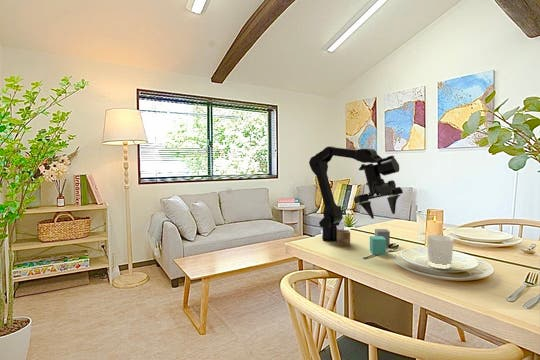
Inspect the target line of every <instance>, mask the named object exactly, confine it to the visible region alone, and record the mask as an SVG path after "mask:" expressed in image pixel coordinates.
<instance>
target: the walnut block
mask: <svg viewBox="0 0 540 360" xmlns="http://www.w3.org/2000/svg"><path fill="white" fill-rule="evenodd" d="M336 245H337V247H341V248H347V247H348V248H350V247H351V232H350V230H349V229H344V230H343V229H338V230H337V241H336Z"/></svg>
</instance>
